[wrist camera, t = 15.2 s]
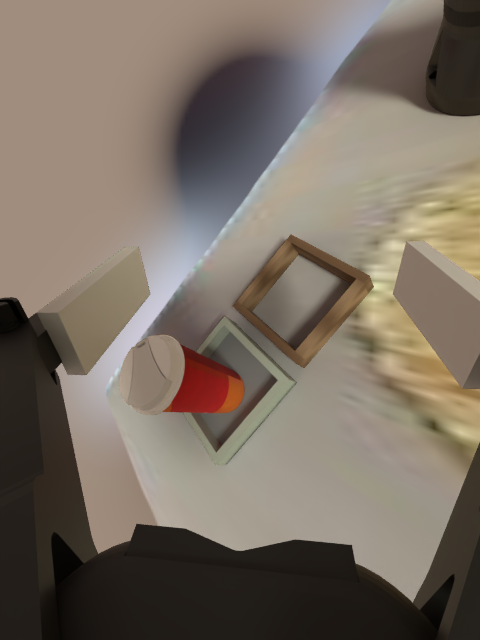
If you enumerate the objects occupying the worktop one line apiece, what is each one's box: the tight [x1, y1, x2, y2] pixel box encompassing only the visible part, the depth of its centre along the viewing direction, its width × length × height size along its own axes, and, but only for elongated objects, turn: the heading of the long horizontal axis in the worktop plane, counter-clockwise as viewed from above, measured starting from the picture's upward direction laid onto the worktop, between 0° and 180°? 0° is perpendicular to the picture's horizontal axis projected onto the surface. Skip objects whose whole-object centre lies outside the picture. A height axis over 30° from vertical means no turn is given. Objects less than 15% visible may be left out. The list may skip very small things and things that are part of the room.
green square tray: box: [183, 316, 296, 466], centre depth 40 cm, size 14×14×2 cm
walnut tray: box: [233, 235, 374, 368], centre depth 38 cm, size 13×13×3 cm
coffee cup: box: [119, 335, 245, 415], centre depth 35 cm, size 8×8×15 cm
